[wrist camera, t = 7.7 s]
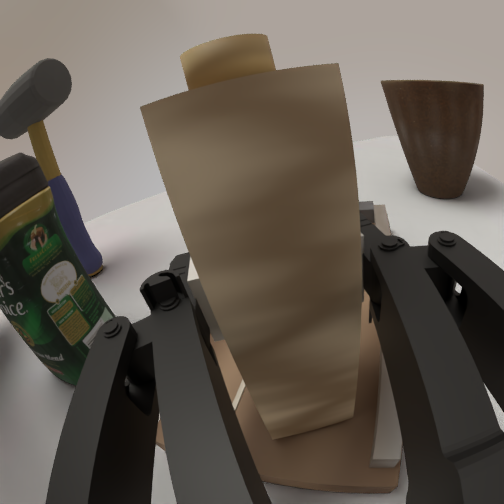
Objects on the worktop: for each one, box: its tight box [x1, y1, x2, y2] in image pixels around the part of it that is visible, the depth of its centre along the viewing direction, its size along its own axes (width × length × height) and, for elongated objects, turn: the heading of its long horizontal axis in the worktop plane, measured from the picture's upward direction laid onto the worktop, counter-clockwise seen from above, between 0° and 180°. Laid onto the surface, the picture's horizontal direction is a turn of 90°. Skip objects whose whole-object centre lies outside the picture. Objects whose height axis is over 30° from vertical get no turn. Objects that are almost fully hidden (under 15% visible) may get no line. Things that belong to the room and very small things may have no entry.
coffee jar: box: [0, 153, 115, 386], centre depth 18 cm, size 10×8×19 cm
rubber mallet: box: [0, 58, 103, 276], centre depth 30 cm, size 12×8×30 cm, turn 77°
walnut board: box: [156, 201, 403, 493], centre depth 21 cm, size 13×26×4 cm, turn 161°
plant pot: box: [381, 80, 484, 199], centre depth 31 cm, size 15×15×16 cm
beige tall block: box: [140, 34, 362, 440], centre depth 10 cm, size 4×5×15 cm
